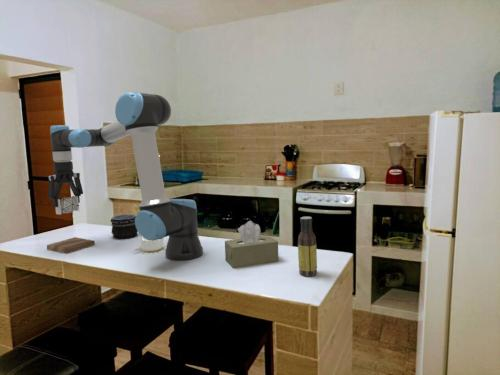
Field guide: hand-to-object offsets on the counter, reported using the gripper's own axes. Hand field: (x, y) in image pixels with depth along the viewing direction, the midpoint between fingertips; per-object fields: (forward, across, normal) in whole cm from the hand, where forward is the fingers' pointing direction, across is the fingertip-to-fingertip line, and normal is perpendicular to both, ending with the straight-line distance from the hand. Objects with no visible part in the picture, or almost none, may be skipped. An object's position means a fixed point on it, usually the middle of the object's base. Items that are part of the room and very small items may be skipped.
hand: (67, 212), depth 167 cm
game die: (+1, 0, 0) cm, 1 cm away
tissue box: (+16, -19, +83) cm, 87 cm away
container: (+16, -24, +8) cm, 30 cm away
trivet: (+16, 0, 0) cm, 16 cm away
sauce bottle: (+16, -16, +107) cm, 109 cm away
